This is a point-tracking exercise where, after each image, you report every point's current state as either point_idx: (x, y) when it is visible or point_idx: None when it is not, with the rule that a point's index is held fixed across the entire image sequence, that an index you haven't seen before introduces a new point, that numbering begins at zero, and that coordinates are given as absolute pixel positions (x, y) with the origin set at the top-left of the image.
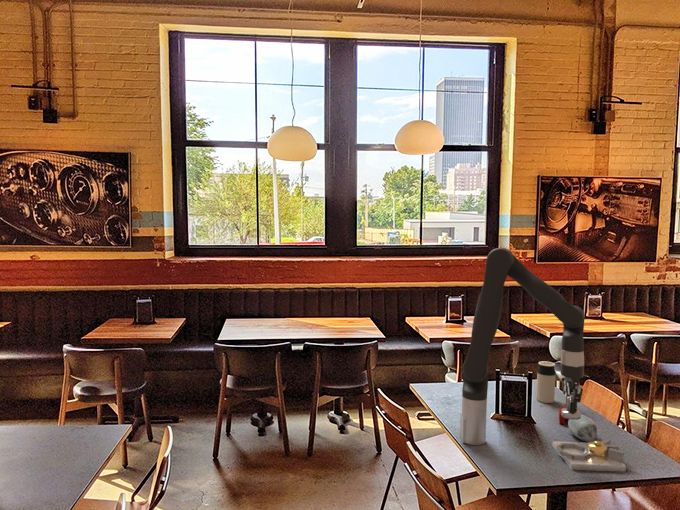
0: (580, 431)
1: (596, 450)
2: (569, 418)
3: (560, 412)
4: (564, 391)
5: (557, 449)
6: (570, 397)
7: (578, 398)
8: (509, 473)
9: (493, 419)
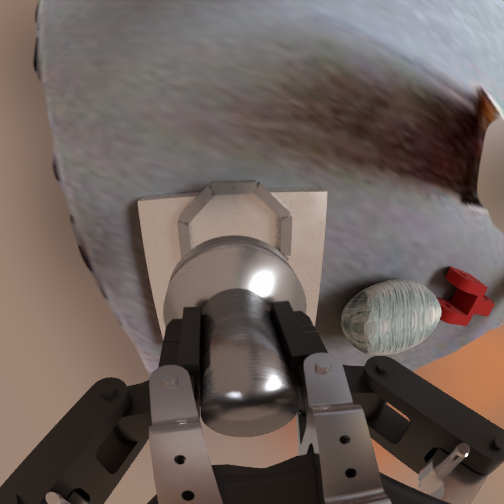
0: (361, 305)
1: None
2: (173, 272)
3: (470, 282)
4: (381, 385)
5: (243, 181)
6: (170, 406)
7: (119, 446)
8: (103, 5)
9: (477, 91)
